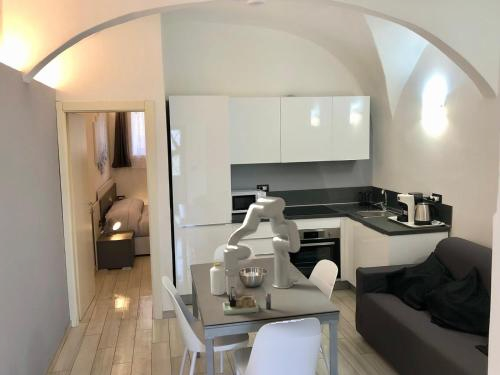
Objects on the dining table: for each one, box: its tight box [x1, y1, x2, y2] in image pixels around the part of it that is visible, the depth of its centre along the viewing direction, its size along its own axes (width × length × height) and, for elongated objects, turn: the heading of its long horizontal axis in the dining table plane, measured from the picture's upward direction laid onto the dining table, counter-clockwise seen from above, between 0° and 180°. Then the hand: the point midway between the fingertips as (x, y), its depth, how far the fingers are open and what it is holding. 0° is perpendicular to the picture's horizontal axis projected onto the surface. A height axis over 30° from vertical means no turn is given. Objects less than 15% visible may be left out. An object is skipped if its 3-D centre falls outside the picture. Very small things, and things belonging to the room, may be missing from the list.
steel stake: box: [265, 293, 272, 311], centre depth 240 cm, size 3×3×8 cm
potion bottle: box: [209, 262, 226, 296], centre depth 266 cm, size 8×8×18 cm
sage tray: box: [221, 299, 259, 316], centre depth 241 cm, size 18×12×2 cm, turn 98°
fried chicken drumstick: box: [231, 295, 255, 309], centre depth 241 cm, size 12×6×5 cm, turn 97°
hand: (232, 304), depth 240 cm, fingers open, 7 cm apart
